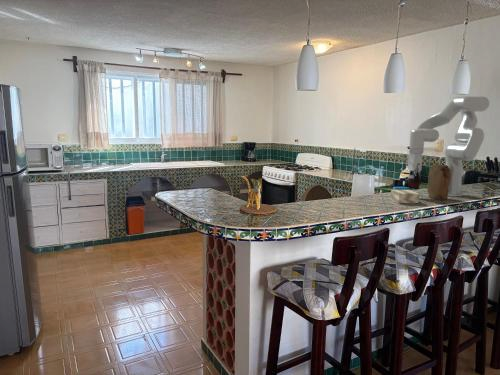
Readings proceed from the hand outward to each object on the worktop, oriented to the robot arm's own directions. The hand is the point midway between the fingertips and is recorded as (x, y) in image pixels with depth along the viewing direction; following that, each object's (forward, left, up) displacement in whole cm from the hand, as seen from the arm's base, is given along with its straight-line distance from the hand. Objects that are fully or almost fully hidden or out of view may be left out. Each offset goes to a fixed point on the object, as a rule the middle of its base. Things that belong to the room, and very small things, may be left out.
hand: (414, 180), depth 216 cm
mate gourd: (0, 0, -5) cm, 5 cm away
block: (-14, 0, -10) cm, 18 cm away
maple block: (+9, +12, -10) cm, 18 cm away
